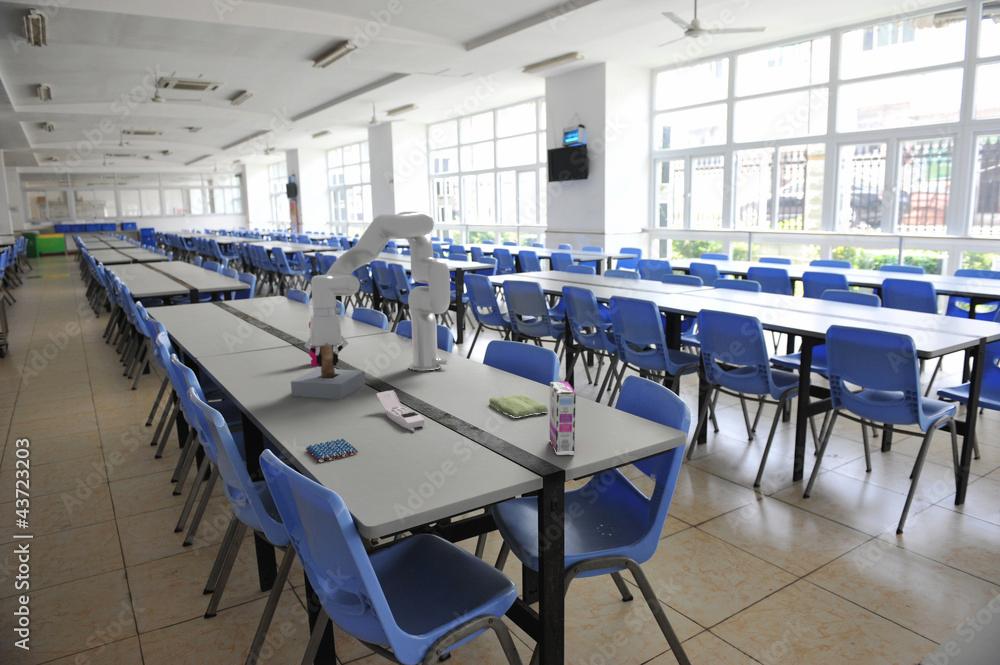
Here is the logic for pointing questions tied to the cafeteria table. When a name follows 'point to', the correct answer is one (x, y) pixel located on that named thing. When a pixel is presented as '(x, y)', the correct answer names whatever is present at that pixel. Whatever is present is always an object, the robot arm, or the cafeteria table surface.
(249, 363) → the cafeteria table surface
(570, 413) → the candy bar box
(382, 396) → the mobile phone
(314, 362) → the pepper mill
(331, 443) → the woven mat
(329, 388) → the socket block
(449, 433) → the cafeteria table surface
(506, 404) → the washcloth
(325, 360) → the peg
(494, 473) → the cafeteria table surface
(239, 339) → the cafeteria table surface
